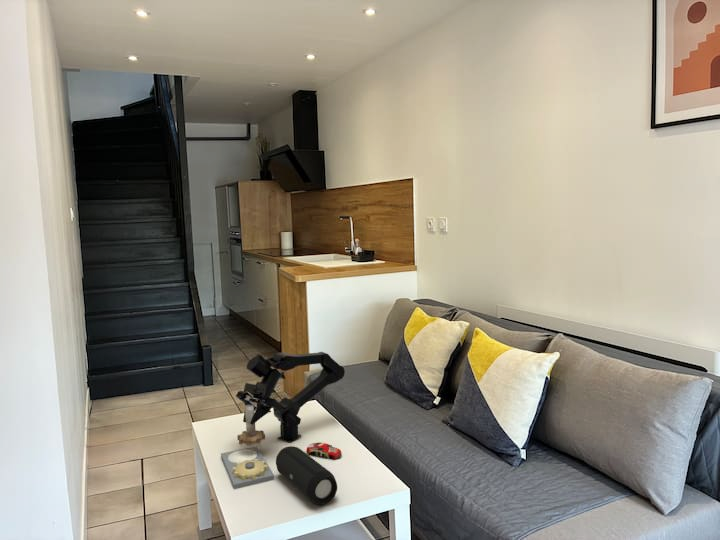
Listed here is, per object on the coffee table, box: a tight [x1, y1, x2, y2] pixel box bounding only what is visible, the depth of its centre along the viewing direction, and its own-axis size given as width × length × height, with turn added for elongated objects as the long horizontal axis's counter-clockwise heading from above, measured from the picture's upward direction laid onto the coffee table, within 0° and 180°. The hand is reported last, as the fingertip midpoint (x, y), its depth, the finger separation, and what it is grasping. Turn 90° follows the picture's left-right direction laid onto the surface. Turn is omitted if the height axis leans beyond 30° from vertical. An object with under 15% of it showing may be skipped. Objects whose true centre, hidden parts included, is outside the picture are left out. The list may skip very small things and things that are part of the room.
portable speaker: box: [275, 445, 338, 505], centre depth 170 cm, size 26×10×10 cm, turn 34°
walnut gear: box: [236, 404, 266, 446], centre depth 192 cm, size 10×10×12 cm
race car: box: [305, 442, 342, 460], centre depth 193 cm, size 13×5×4 cm, turn 65°
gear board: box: [220, 445, 275, 490], centre depth 184 cm, size 24×13×4 cm, turn 24°
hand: (247, 423), depth 191 cm, fingers closed on walnut gear, 3 cm apart
